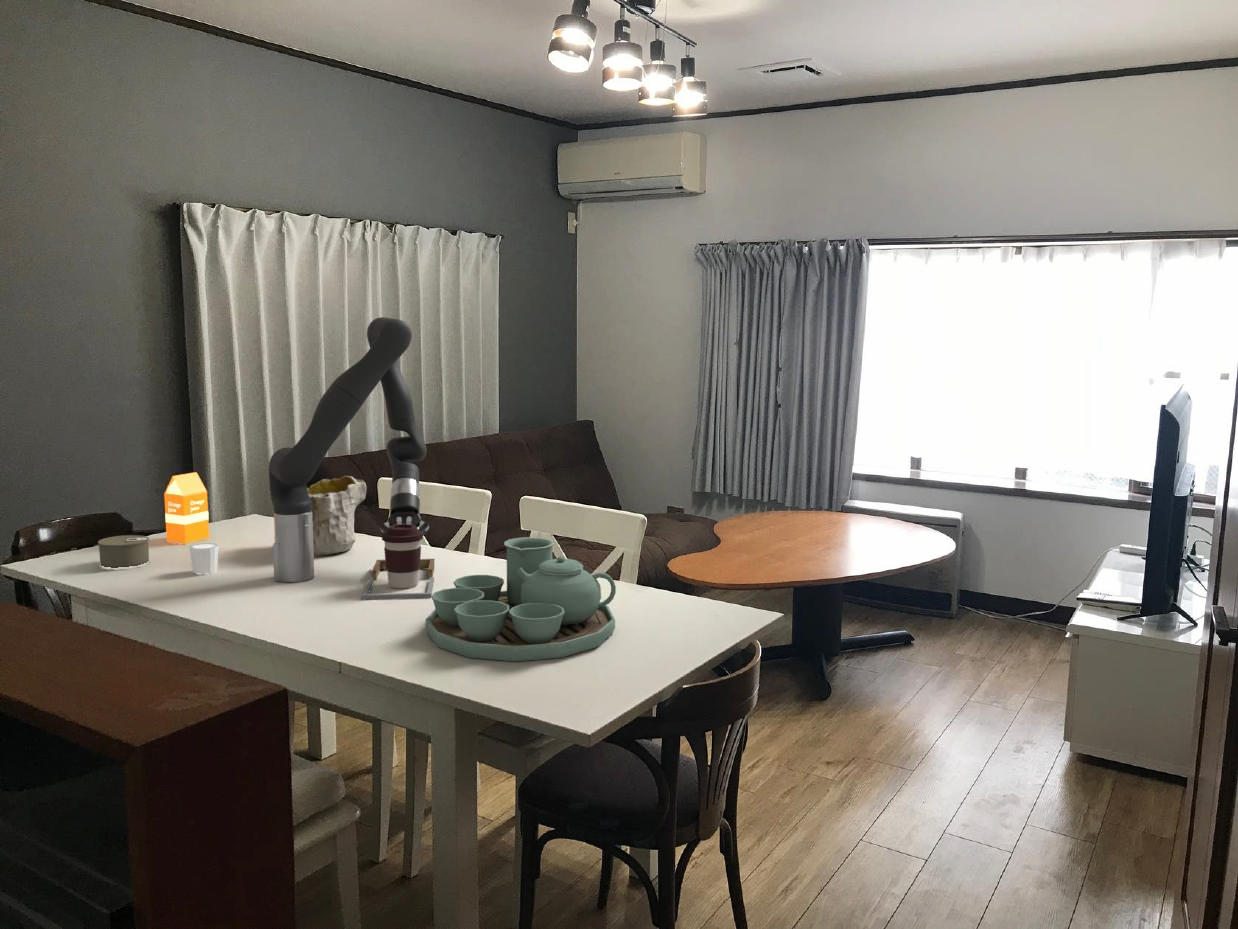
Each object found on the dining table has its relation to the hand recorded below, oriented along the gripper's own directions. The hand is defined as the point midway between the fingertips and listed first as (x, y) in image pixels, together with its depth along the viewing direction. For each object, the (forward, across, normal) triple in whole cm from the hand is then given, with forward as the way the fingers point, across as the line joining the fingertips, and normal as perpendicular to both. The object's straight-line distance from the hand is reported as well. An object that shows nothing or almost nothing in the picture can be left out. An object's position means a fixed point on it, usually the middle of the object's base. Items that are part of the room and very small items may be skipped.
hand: (403, 556), depth 241 cm
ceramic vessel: (-21, -26, +31) cm, 46 cm away
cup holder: (-1, -1, +10) cm, 10 cm away
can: (-13, -74, +22) cm, 79 cm away
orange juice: (-33, -66, +42) cm, 85 cm away
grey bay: (+10, -1, -1) cm, 10 cm away
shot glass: (-6, -51, +15) cm, 54 cm away
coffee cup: (+7, 0, +2) cm, 8 cm away
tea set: (+35, +27, -25) cm, 51 cm away
